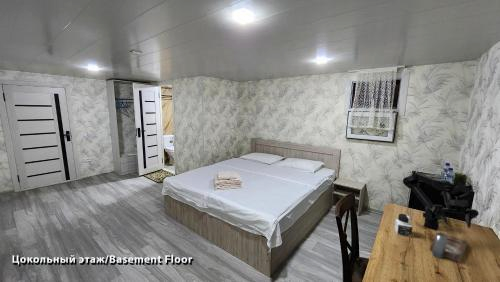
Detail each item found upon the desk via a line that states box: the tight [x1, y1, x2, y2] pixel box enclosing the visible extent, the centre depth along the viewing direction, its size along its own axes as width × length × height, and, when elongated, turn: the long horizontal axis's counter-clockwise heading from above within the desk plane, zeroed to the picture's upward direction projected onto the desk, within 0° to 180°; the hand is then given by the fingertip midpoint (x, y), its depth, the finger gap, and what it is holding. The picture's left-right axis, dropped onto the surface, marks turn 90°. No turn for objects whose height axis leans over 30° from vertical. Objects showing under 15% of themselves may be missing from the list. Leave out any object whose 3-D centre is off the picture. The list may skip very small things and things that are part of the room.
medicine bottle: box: [394, 213, 413, 238], centre depth 131 cm, size 7×7×12 cm
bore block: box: [429, 231, 469, 264], centre depth 118 cm, size 12×22×2 cm, turn 127°
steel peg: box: [432, 232, 447, 260], centre depth 110 cm, size 4×4×12 cm
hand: (458, 225), depth 115 cm, fingers open, 9 cm apart
